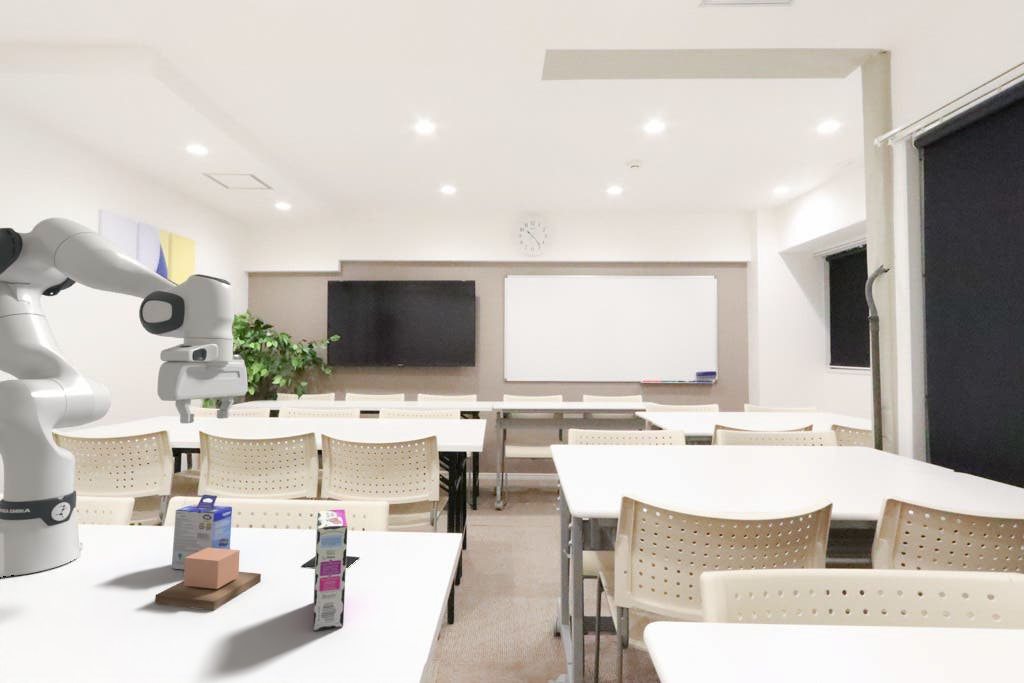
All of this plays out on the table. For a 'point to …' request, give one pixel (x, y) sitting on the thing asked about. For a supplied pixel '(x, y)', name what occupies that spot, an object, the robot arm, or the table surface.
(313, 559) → the solid state drive
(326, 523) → the candy bar box
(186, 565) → the salmon rectangular block
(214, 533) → the ink cartridge box
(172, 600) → the base
